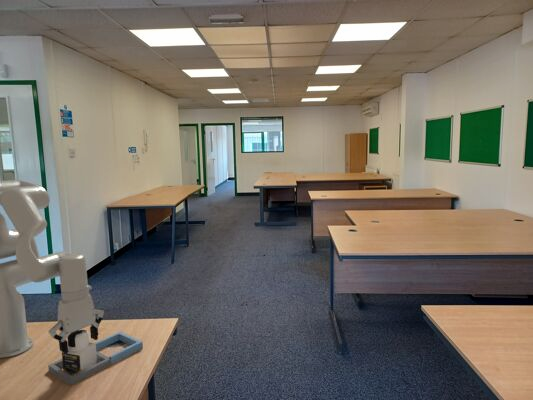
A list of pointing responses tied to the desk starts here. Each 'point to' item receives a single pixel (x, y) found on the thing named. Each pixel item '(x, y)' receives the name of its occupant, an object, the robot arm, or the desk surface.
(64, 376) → the frame
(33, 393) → the desk surface
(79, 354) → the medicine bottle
